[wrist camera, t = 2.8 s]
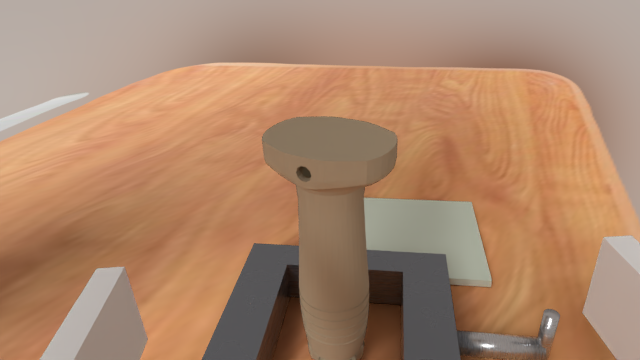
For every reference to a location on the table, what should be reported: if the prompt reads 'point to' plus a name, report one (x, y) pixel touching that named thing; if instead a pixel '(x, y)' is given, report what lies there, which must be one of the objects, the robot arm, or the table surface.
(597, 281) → the robot arm
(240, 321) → the vise
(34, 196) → the table surface
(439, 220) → the mat
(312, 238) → the handle
